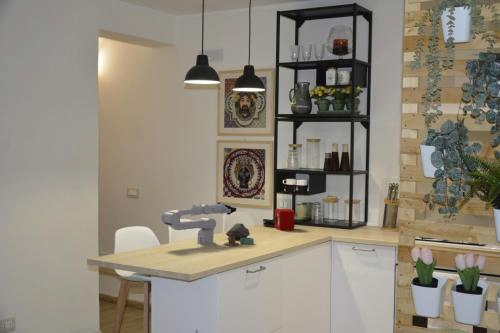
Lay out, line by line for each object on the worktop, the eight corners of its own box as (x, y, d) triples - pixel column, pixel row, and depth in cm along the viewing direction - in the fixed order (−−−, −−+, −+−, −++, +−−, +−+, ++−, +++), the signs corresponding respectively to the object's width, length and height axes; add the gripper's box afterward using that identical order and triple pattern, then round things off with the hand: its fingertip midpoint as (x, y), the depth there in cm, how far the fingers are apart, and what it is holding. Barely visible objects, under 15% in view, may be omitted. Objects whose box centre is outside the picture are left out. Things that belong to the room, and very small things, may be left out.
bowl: (247, 245, 369) (247, 239, 369) (237, 244, 375) (237, 238, 374) (256, 244, 375) (256, 238, 375) (246, 242, 380) (246, 237, 380)
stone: (255, 221, 396) (241, 223, 384) (256, 237, 396) (243, 240, 383) (233, 223, 407) (219, 225, 394) (234, 239, 406) (220, 241, 394)
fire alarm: (274, 228, 459) (274, 208, 458) (288, 227, 461) (288, 208, 460) (279, 230, 443) (279, 210, 442) (294, 230, 445) (294, 210, 444)
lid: (232, 246, 362) (232, 238, 362) (221, 244, 368) (221, 236, 368) (242, 245, 369) (242, 236, 369) (231, 243, 375) (231, 235, 375)
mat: (232, 247, 362) (232, 246, 362) (220, 245, 368) (220, 244, 368) (243, 245, 369) (243, 245, 369) (231, 243, 376) (231, 243, 376)
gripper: (223, 205, 373) (240, 204, 382) (208, 200, 384) (225, 199, 393) (222, 216, 374) (238, 215, 383) (207, 211, 384) (224, 210, 394)
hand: (231, 208), depth 388 cm, fingers open, 7 cm apart
